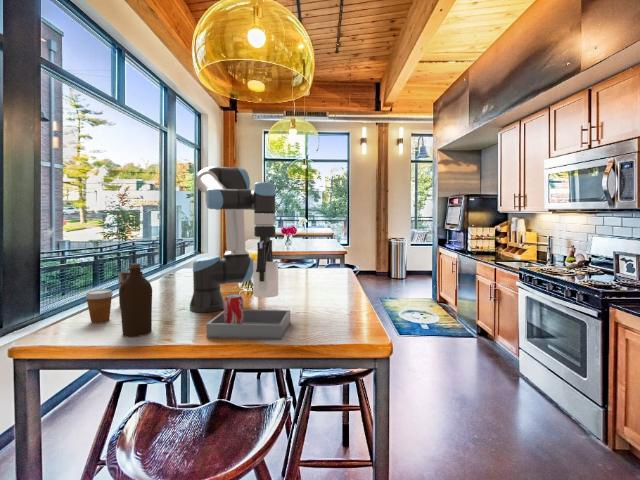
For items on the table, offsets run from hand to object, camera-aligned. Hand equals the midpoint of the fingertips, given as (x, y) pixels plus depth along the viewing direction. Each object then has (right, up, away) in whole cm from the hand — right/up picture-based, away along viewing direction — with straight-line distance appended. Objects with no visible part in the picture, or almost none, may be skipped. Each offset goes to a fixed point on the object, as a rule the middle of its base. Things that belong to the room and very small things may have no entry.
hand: (265, 287), depth 136 cm
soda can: (-12, -15, +2) cm, 19 cm away
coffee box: (-68, -14, +38) cm, 79 cm away
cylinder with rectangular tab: (0, -3, 0) cm, 3 cm away
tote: (-6, -16, +1) cm, 17 cm away
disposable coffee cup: (-68, -15, +13) cm, 71 cm away
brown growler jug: (-46, -16, -2) cm, 49 cm away
